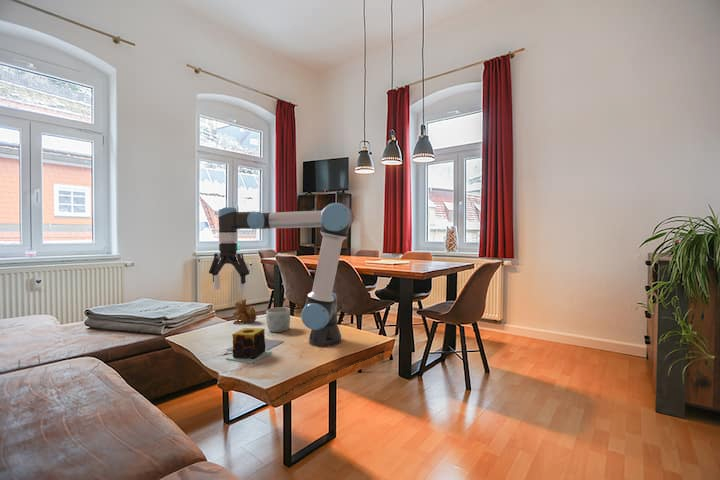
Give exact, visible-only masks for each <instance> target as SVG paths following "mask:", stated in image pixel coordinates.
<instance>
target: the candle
mask: <svg viewBox="0 0 720 480" xmlns="http://www.w3.org/2000/svg"><path fill="white" fill-rule="evenodd" d="M231 334H232V347H233V351H232V355H233V358H249V359H255V358H256V357H258V356H259V355H261V354H262V353H263V352H265V347H266V345H265V339H266V337H265V335H266V334H265V328H259V327H257V328H256V327H244V328H241V329H240V330H238V331H235V332H234V333H231Z"/></svg>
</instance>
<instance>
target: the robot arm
mask: <svg viewBox="0 0 720 480" xmlns="http://www.w3.org/2000/svg"><path fill="white" fill-rule="evenodd" d="M354 218H355V215H354V212H353V211H352V209H351V208H350V207H349V206H347V205H345V203H341V202H332V203H329V204H327V205H326V206H325V207H324V208H323V209H322V210H305V211H304V210H302V211H301V210H300V211H283V212H282V211H281V212H280V211H278V212H260V211H237V208H236V207H229V206H228V207H227V206H226V207H220V208H219V209H218V217H217V219H218V242H219V244H218V250H219V252H217V253H215V252H214V253H213V254H214V255H213V260H212V262H211V265H210V268H209V271H208V274H210V275H212V282H213V290H214V291H217V290H221V283H220V282H221V279H220V278H221V277H220V274H219V273H220V271H221V270H222V269H223V267H224V266H225V265H227V264H228V265H229V264H231V266H233V267H234V269H235V270H236V272H237V273H238V274H239V276H238V292H240V293H241V292H245V284H246V280H247V279H246V276H248V275H250V270H249V268H248V266H247V263H246V261H245V260H244V254H243V253H237V251H238V230H267V229H268V230H270V229H293V228H295V229H297V228H298V229H299V228H320V231H319V232H320V234H321V236H322V239H321V245H320V250H319V253H318V254H319V255H318V259H317V265H316V269H315V274H314V279H313V285H312V290H311V291H310V292H309V293H307V296H306V300H305V301H306V302H305V305H304V306H303V308H302V311H301V313H300V317H301V318H300V319H301V321H302V323H303V325H304V326H305V327H306V328H307V329H309V330H310V334H309V337H308V338H309V339H308V340H309V345H311V346H314V347H319V348H320V347H333V346H336V345H339V344H341V342H342V341H343V340H342V339H343V338H342V334H341V331H340V329H339V326H338V298H337V297H338V296H337V294H336V293H335V292H333V290H334V284H335V281H336V279H335V278H336V275H337V270H338V265H339V261H340V256H341V250H342V245H343V241H344V240H346V239H348V236H349V235H348V234H349V229H350V227H351V226H352V225H353V223H354Z"/></svg>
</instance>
